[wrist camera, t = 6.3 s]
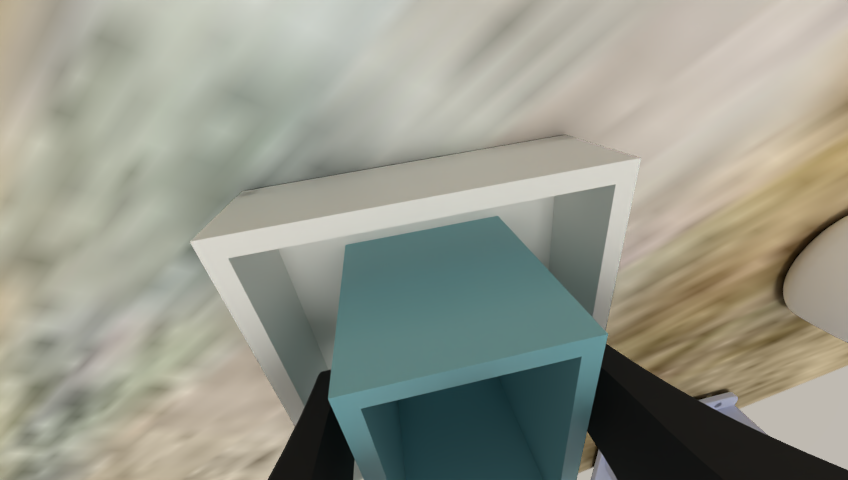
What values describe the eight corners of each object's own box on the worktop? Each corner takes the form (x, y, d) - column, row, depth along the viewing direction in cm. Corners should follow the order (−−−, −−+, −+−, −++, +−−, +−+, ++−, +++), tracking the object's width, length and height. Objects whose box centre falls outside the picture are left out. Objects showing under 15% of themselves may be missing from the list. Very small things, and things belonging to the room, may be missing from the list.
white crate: (565, 134, 11) (641, 158, 8) (545, 365, 17) (585, 429, 14) (242, 191, 10) (189, 241, 7) (339, 414, 16) (333, 494, 13)
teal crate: (497, 215, 12) (608, 333, 6) (500, 362, 15) (569, 511, 10) (345, 244, 11) (328, 398, 6) (387, 389, 15) (399, 559, 10)
